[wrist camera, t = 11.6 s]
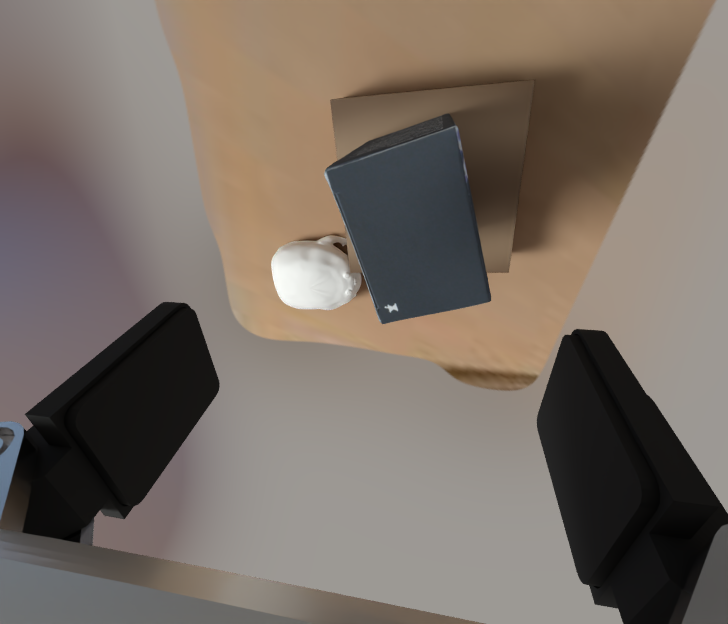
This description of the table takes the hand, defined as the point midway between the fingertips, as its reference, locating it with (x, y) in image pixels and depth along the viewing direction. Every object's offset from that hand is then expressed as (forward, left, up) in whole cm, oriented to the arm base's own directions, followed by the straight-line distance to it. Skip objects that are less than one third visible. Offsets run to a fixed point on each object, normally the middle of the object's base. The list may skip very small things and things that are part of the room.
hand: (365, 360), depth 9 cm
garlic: (+8, -8, -22) cm, 25 cm away
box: (0, +1, -19) cm, 19 cm away
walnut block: (0, +1, -22) cm, 22 cm away
